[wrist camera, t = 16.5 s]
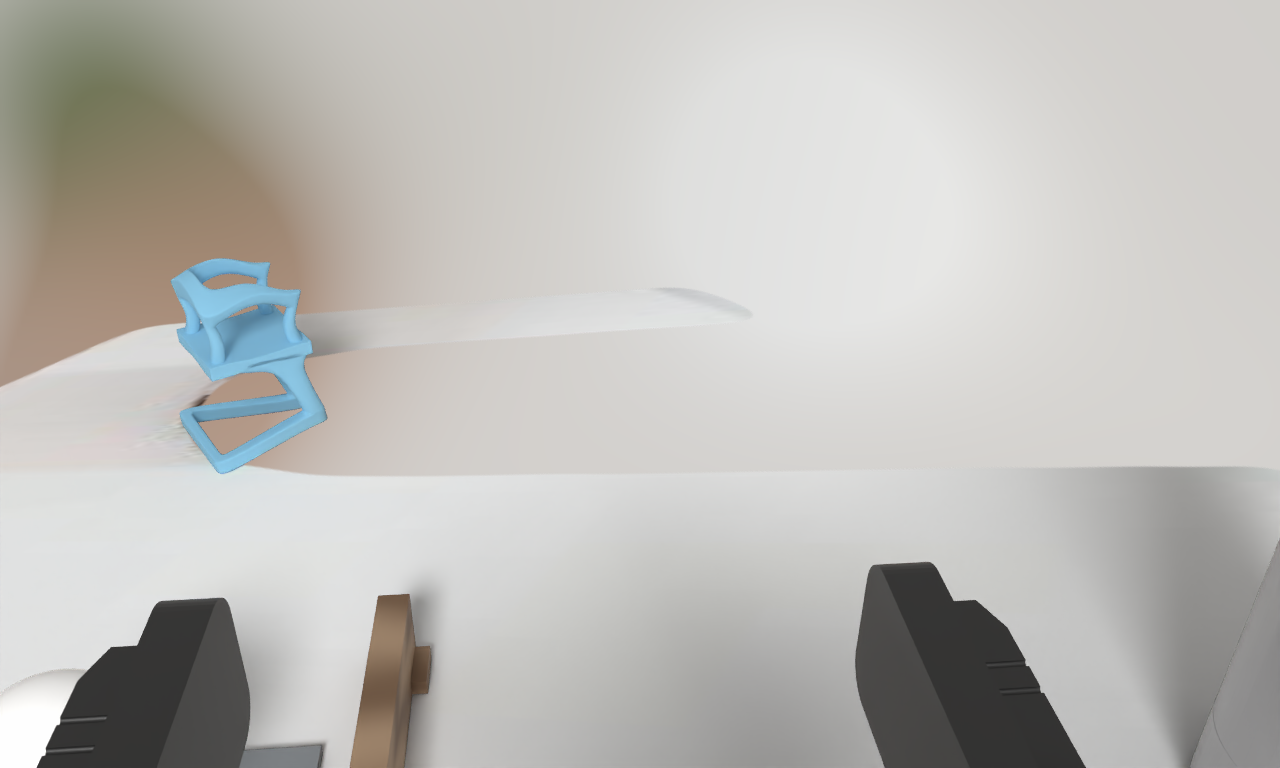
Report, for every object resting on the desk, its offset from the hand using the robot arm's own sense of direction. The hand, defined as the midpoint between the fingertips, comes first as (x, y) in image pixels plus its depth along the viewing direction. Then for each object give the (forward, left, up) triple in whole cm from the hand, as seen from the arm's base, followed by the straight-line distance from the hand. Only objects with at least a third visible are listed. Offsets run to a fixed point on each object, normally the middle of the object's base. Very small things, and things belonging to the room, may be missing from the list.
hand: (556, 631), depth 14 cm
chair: (-29, -49, -30) cm, 64 cm away
